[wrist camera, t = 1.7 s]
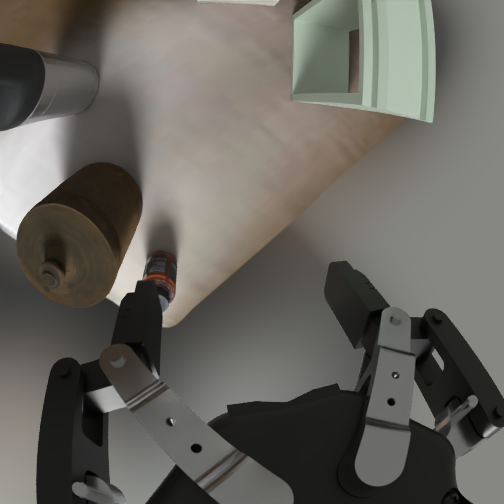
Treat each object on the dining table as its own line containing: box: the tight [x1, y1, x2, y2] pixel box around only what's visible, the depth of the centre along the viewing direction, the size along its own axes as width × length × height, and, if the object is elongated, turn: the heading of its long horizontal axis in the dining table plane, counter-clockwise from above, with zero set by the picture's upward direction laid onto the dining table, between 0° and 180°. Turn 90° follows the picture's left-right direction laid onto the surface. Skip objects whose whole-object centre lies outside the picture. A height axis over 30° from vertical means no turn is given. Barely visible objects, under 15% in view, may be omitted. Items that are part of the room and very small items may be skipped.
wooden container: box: [16, 163, 142, 308], centre depth 32 cm, size 15×15×22 cm
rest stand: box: [291, 0, 436, 123], centre depth 26 cm, size 10×16×22 cm, turn 178°
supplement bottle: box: [142, 252, 177, 312], centre depth 44 cm, size 6×6×11 cm
